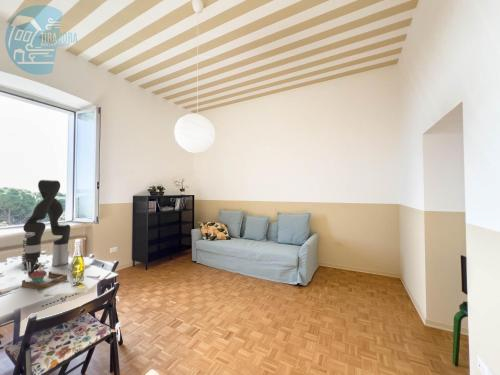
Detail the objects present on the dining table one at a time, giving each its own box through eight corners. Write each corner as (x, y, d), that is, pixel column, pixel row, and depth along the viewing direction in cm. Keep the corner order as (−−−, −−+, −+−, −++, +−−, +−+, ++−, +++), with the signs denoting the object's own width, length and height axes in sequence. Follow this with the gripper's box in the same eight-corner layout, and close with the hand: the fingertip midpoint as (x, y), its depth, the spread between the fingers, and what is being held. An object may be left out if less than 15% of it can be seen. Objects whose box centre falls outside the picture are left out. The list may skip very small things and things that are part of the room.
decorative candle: (33, 258, 181) (36, 230, 182) (39, 260, 177) (41, 231, 178) (19, 261, 172) (21, 232, 173) (24, 263, 169) (26, 233, 169)
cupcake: (49, 280, 142) (50, 262, 142) (32, 285, 134) (34, 266, 134) (41, 277, 145) (43, 260, 145) (25, 282, 137) (26, 264, 137)
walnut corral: (49, 276, 148) (50, 271, 148) (67, 279, 145) (67, 273, 145) (21, 286, 132) (22, 280, 132) (40, 289, 129) (40, 283, 129)
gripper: (46, 250, 144) (44, 275, 143) (32, 248, 146) (30, 272, 146) (33, 253, 136) (31, 279, 136) (18, 251, 139) (16, 277, 138)
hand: (30, 276), depth 141 cm, fingers closed
